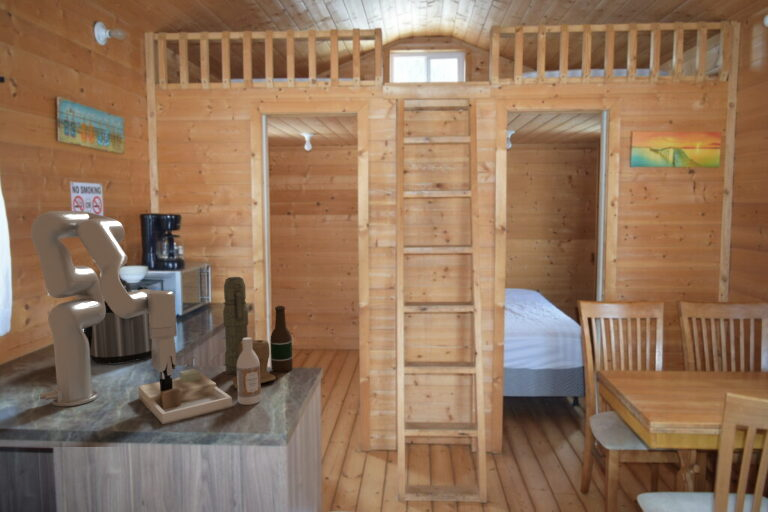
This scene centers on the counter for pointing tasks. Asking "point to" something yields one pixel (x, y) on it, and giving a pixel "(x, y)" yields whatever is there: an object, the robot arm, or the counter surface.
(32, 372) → the counter surface
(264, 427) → the counter surface
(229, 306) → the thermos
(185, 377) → the sage tile
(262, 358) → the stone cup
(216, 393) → the box
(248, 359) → the bath foam
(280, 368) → the beer bottle
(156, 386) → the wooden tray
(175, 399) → the walnut tile
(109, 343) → the pressure cooker
